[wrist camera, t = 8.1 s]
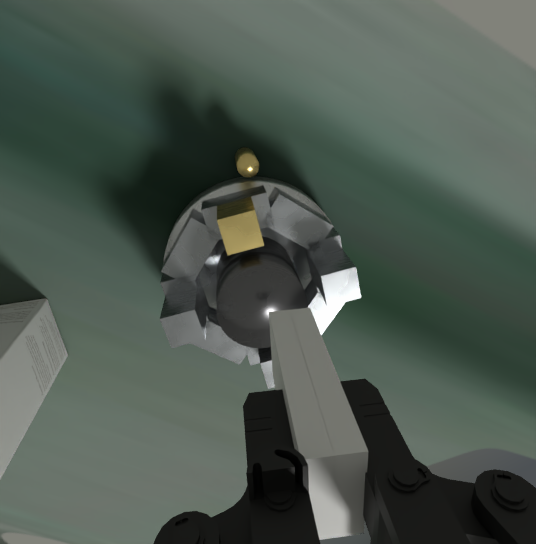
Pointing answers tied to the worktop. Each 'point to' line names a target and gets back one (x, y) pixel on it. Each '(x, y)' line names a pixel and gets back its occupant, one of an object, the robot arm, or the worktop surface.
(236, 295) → the housing
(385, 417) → the robot arm
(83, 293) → the worktop surface
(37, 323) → the skincare box
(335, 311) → the ring nut
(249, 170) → the post
